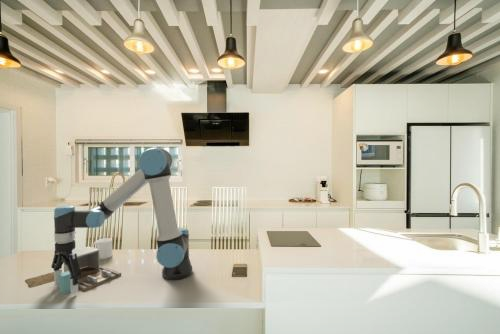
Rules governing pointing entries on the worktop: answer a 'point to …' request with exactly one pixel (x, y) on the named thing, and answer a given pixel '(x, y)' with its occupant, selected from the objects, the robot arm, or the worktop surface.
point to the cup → (104, 247)
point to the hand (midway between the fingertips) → (66, 287)
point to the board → (95, 277)
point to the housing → (86, 258)
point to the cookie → (40, 280)
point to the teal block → (64, 282)
